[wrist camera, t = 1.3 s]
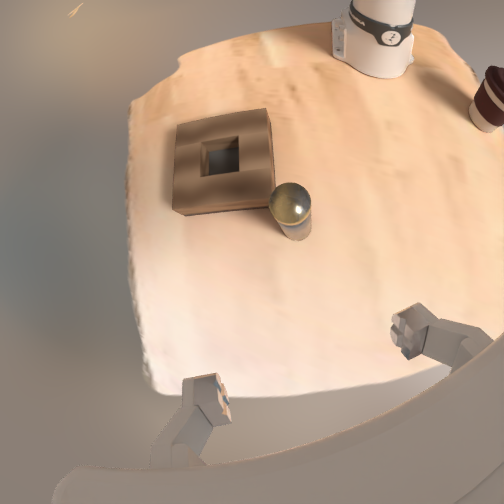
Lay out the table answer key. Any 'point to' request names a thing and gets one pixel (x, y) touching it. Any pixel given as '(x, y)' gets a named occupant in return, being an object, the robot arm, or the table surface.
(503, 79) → the coffee cup
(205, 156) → the post block
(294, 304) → the table surface
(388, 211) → the table surface
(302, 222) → the steel rod
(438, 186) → the table surface
